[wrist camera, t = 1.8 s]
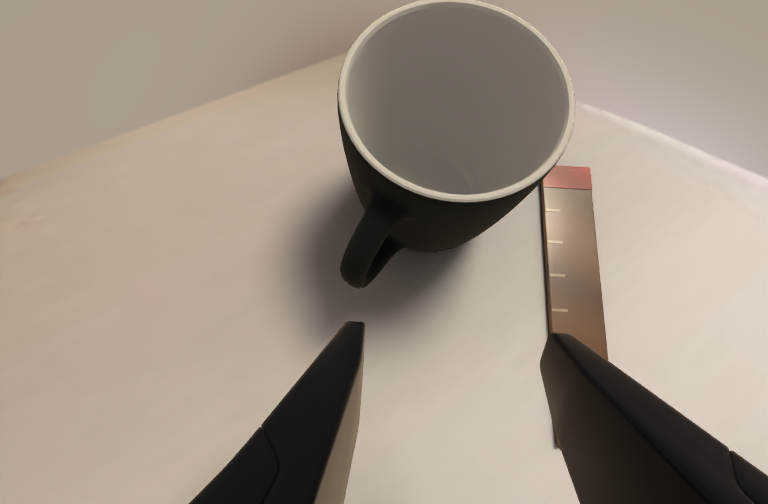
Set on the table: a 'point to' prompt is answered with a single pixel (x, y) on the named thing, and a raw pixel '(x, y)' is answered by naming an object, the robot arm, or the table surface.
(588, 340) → the ruler
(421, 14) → the mug
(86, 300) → the table surface
